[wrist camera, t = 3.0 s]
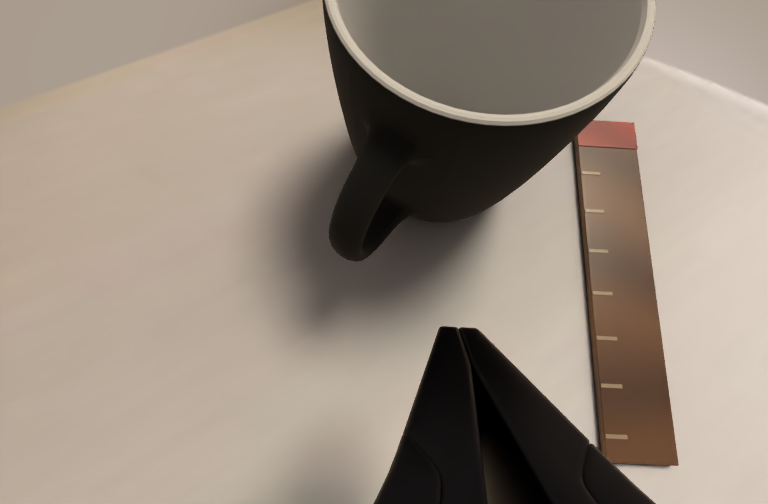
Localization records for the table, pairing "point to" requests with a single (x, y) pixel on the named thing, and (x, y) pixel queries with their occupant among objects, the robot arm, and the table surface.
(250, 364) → the table surface
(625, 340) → the ruler
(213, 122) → the table surface
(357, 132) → the mug
